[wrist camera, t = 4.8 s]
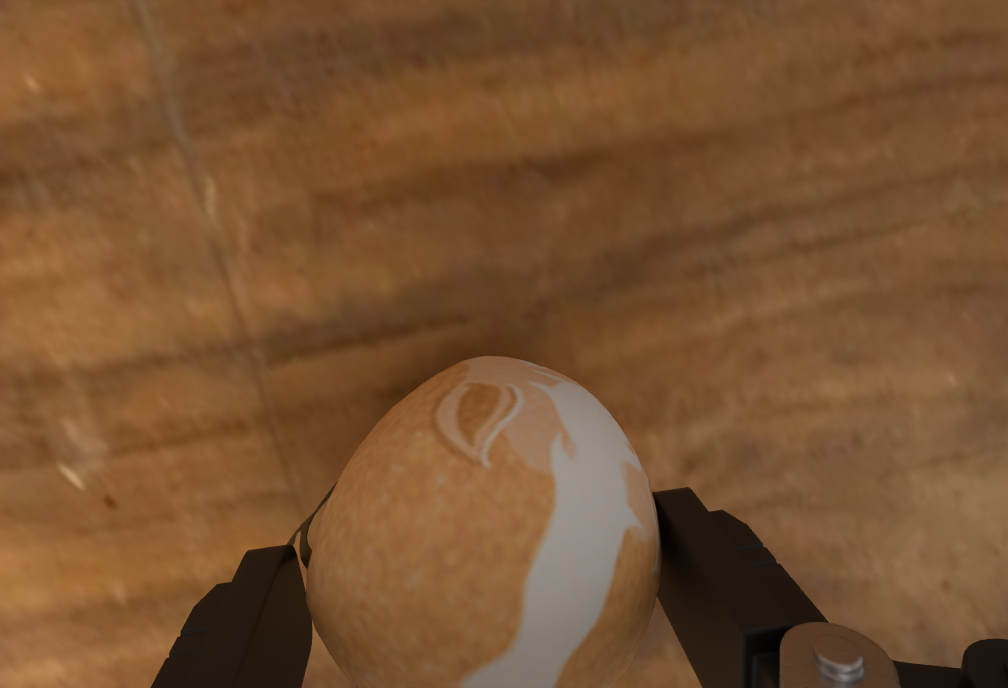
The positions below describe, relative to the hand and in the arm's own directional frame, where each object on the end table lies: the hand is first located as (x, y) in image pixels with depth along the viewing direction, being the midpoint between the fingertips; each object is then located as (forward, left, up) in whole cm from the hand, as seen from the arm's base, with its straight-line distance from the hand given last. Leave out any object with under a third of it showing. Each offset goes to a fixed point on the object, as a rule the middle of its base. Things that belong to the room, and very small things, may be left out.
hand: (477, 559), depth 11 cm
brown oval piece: (0, 0, -3) cm, 3 cm away
